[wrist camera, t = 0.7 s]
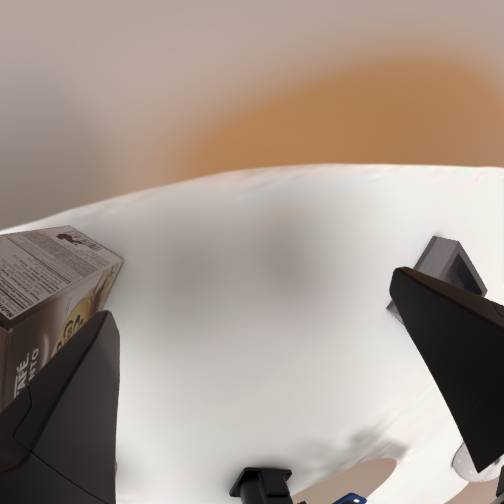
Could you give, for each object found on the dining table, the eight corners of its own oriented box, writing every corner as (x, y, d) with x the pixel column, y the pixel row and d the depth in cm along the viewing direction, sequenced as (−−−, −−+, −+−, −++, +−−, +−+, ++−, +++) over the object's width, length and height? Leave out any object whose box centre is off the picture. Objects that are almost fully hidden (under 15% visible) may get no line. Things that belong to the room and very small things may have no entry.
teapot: (437, 481, 43) (467, 513, 29) (462, 432, 39) (502, 467, 26) (487, 445, 46) (516, 470, 33) (510, 394, 42) (547, 418, 29)
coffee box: (90, 346, 23) (3, 467, 7) (35, 310, 22) (-78, 392, 6) (127, 258, 23) (10, 336, 7) (66, 221, 22) (-82, 243, 6)
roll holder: (425, 345, 31) (446, 359, 27) (386, 308, 29) (409, 321, 25) (465, 282, 31) (487, 290, 27) (433, 236, 29) (458, 241, 25)
